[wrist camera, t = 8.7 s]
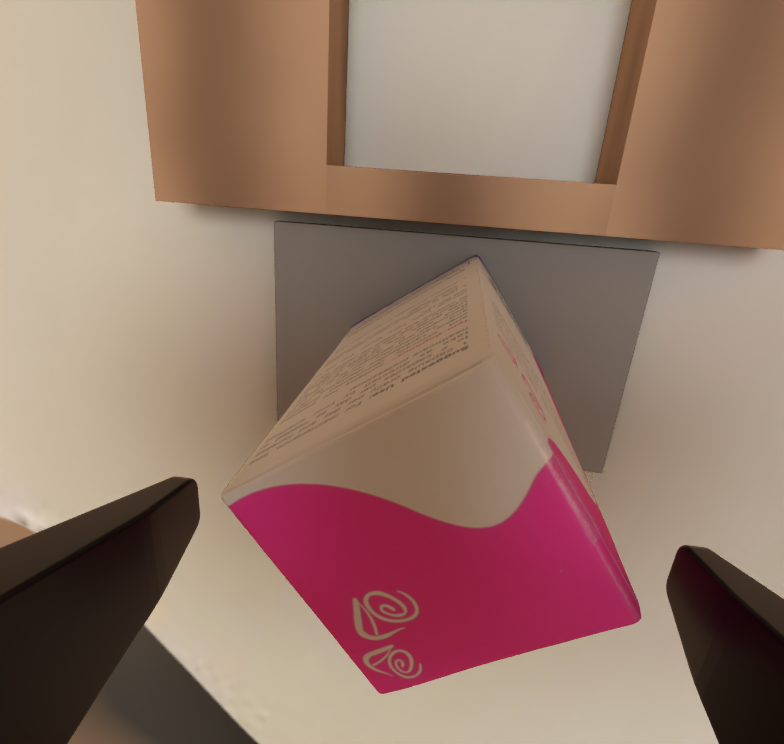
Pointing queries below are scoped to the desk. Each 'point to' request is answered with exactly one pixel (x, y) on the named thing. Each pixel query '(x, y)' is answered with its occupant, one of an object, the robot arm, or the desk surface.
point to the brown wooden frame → (460, 191)
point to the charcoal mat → (516, 284)
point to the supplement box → (434, 494)
